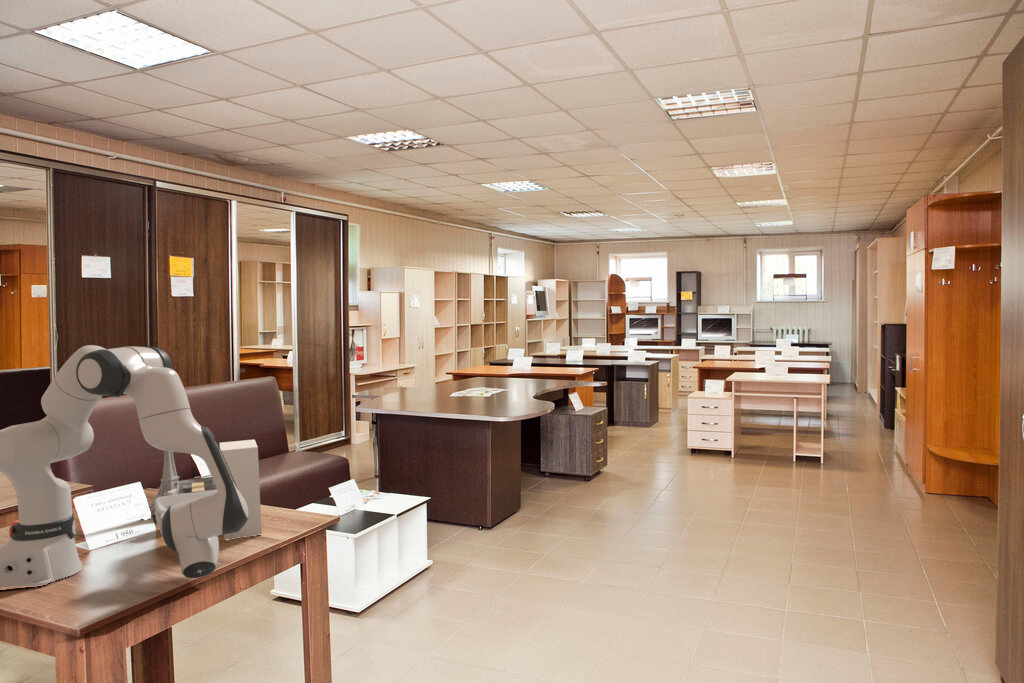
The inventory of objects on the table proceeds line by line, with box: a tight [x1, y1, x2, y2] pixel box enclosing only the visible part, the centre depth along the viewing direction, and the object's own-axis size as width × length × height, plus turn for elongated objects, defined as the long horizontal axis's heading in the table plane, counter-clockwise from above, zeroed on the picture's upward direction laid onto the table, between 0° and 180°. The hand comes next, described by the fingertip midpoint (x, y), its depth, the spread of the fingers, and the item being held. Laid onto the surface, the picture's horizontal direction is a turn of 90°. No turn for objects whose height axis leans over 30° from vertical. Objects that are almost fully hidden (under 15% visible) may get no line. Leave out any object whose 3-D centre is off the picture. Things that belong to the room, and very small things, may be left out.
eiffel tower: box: [148, 451, 180, 515], centre depth 222 cm, size 13×13×30 cm
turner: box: [179, 476, 213, 493], centre depth 187 cm, size 23×9×3 cm, turn 25°
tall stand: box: [219, 438, 262, 540], centre depth 202 cm, size 10×14×26 cm
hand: (197, 484), depth 181 cm, fingers open, 7 cm apart
